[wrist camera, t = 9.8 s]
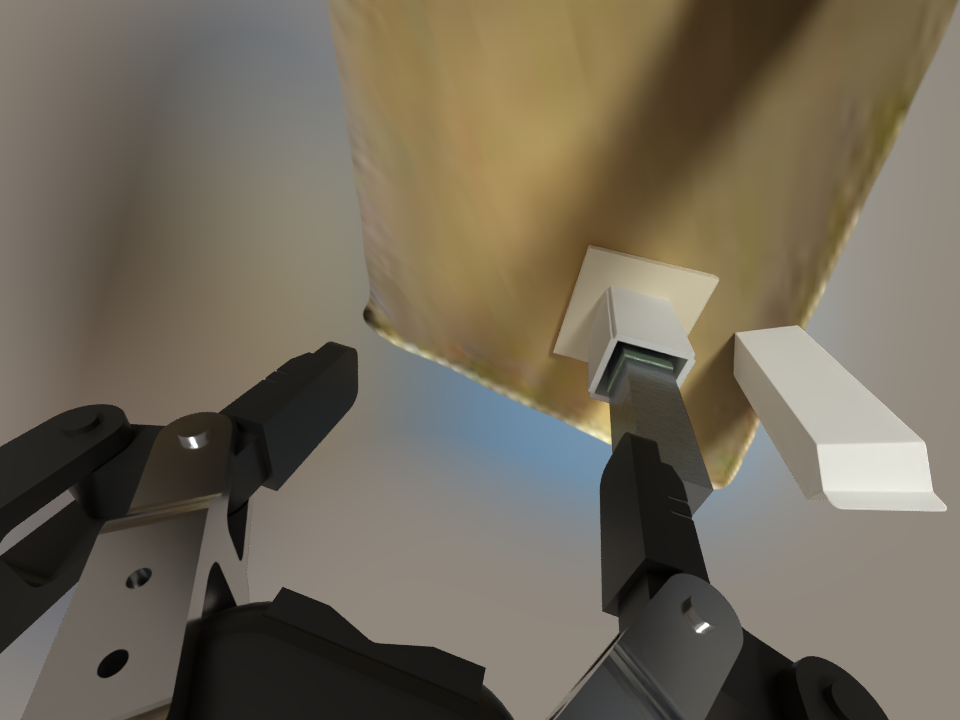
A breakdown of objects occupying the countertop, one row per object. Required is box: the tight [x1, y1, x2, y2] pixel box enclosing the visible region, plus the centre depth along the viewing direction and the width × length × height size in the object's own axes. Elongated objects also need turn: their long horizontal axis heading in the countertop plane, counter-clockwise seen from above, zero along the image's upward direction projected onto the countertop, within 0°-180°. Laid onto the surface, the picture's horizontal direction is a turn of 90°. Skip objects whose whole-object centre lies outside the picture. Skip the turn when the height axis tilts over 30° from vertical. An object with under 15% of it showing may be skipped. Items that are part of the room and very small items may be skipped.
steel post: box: [607, 341, 713, 515], centre depth 30 cm, size 5×4×19 cm
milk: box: [733, 325, 947, 512], centre depth 34 cm, size 6×6×22 cm
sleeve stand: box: [553, 244, 719, 403], centre depth 39 cm, size 14×14×15 cm
